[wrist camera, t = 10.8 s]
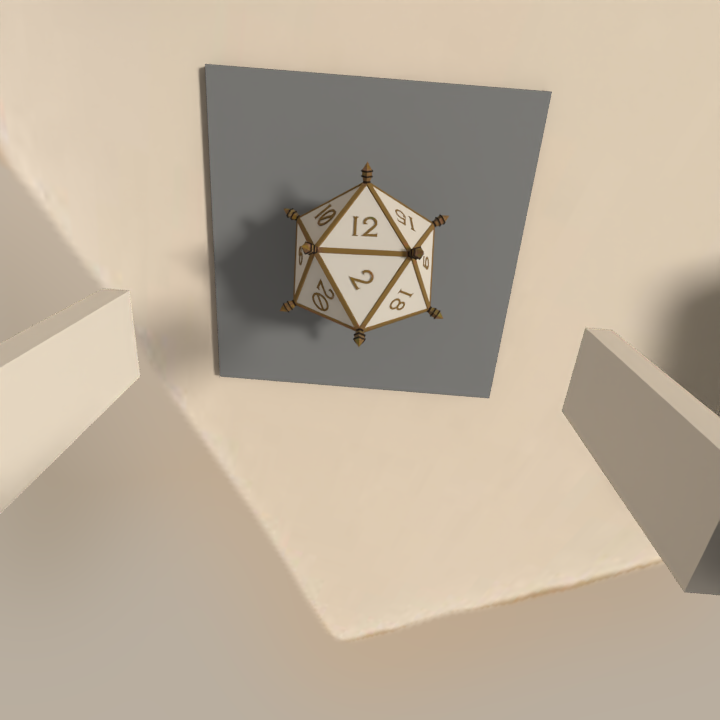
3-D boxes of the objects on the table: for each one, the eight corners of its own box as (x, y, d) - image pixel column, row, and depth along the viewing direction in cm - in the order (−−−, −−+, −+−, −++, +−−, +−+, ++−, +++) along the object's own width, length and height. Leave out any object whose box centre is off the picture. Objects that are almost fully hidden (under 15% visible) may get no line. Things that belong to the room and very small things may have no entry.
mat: (208, 65, 26) (205, 63, 25) (548, 92, 26) (551, 91, 25) (222, 373, 33) (219, 376, 32) (487, 394, 33) (489, 398, 32)
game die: (377, 266, 33) (371, 402, 28) (263, 205, 29) (234, 353, 24) (480, 183, 26) (495, 341, 22) (353, 88, 22) (337, 258, 17)
